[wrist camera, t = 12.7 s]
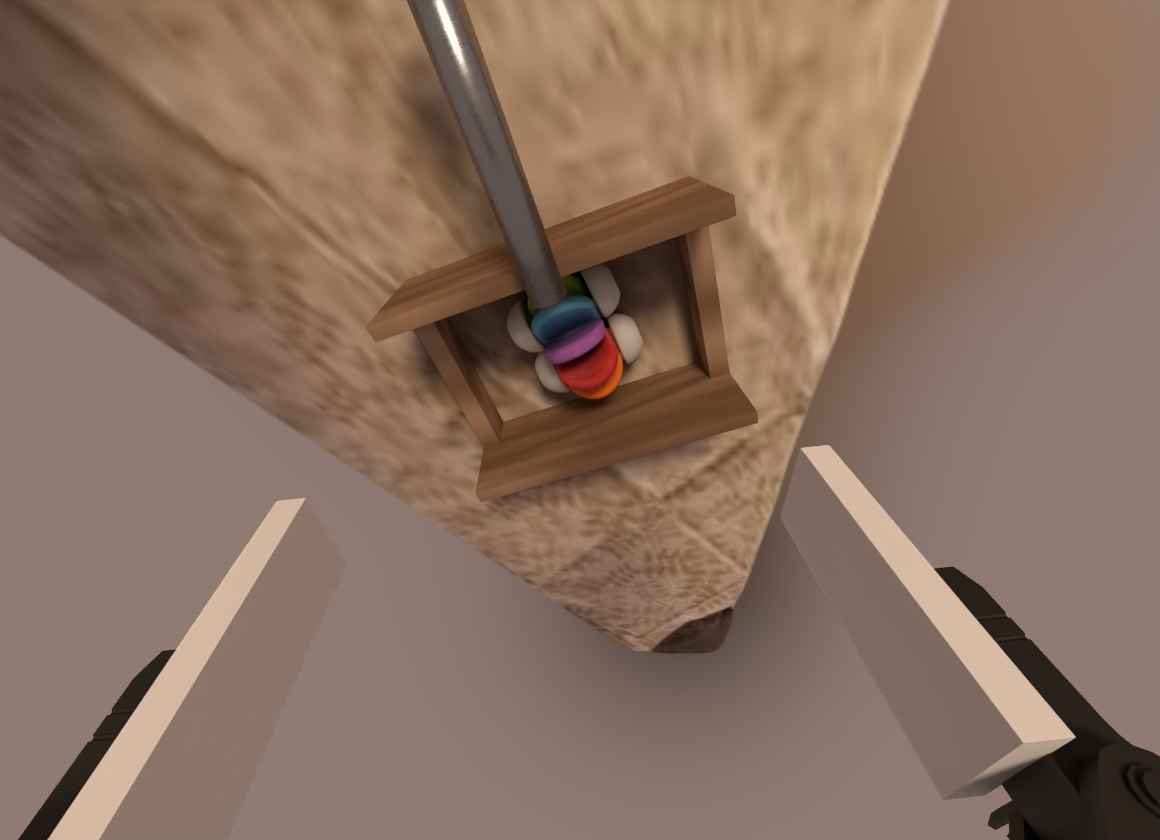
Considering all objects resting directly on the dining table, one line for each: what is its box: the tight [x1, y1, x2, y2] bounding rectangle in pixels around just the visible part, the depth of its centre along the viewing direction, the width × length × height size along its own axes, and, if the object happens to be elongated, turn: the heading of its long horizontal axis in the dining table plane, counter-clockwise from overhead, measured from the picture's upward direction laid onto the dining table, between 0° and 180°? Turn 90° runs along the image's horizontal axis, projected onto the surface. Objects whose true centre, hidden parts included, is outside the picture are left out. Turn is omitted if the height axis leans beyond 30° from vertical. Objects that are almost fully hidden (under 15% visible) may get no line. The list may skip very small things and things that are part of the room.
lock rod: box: [407, 0, 567, 308], centre depth 18 cm, size 19×3×3 cm, turn 18°
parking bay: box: [366, 176, 758, 502], centre depth 31 cm, size 15×21×8 cm
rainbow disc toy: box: [507, 264, 643, 399], centre depth 31 cm, size 8×10×7 cm
